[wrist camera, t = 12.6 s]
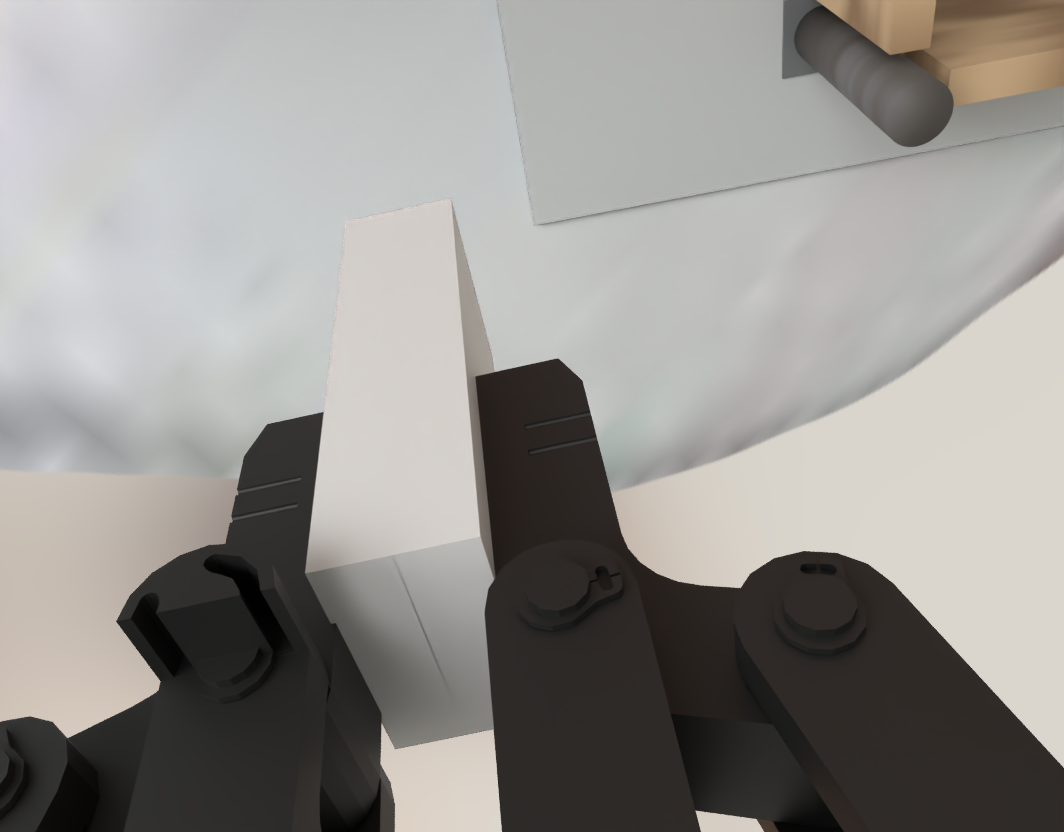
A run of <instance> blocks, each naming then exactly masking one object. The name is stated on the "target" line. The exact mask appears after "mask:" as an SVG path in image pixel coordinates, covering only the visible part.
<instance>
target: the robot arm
mask: <svg viewBox="0 0 1064 832" xmlns="http://www.w3.org/2000/svg"><path fill="white" fill-rule="evenodd" d="M237 490H238V495H236V497H235V502H234V506H233V511H232V520H233V522H232V523H230V525H229V530H228V535H227V539H226V544H221V545H220V544H219V545H208V546H206V547H203V548H200V549H197V550H194V551H191V552H188V553H186V554H183V555H180V556H178V557H177V558H175V559H173V560H172V561H171V562H169V563H167V564H166V565H164V566H163V567H161V568H159V569H158V570H156V571H155V572H153V573H152V574H151V575H150V576H149V577H148V578H147V579H146V580H145V581H144V582H143V583H142V584H141V585H140V586H139V587H138V588H137V589H136V590H135V591H134V592H133V593H132V594H131V595H130V596H129V599H128V600H127V602H126V604H125V606H124V608H123V609H122V612H121V613H120V615H119V617H118V619H117V621H116V622H117V623H118V624H119V626H120V627H121V628H122V630H123V631H124V633H125V634H126V635H127V637H128V638H129V639H130V641H131V642H132V643H133V645H134V646H135V647H136V649H137V650H138V651H139V653H140V654H141V655H142V657H143V658H144V659H145V661H146V662H147V664H148V665H149V666H150V668H151V669H152V670H153V672H154V673H155V674H156V676H157V677H158V678H159V680H160V681H161V682H160V686H159V691H157V692H156V693H155V694H153V695H151V696H150V697H149V698H146V699H145V700H143V701H142V702H140V703H138V704H136V705H134V706H133V707H131V708H129V709H127V710H125V711H123V712H121V713H119V714H117V715H115V716H112V717H110V718H108V719H106V720H104V721H102V722H100V723H98V724H96V725H94V726H92V727H90V728H88V729H86V730H84V731H82V732H80V733H78V734H76V735H74V736H72V737H69V738H67V737H66V736H65V735H64V734H63V733H62V732H61V731H60V730H59V729H58V728H57V726H56V725H55V724H54V723H53V722H50V721H46V720H42V719H38V718H34V717H24V718H18V719H13V720H7V721H2V722H0V832H394V831H395V803H394V798H393V793H392V788H391V783H390V781H389V779H388V777H387V776H386V774H385V772H384V770H383V768H382V766H381V764H380V757H381V755H380V754H381V722H382V724H383V726H384V728H385V730H386V732H387V734H388V736H389V738H390V740H391V742H392V744H393V746H394V748H395V749H398V748H404V747H408V746H414V745H418V744H423V743H428V742H433V741H438V740H443V739H448V738H453V737H457V736H463V735H467V734H472V733H477V732H482V731H487V730H492V729H494V738H495V750H496V763H497V775H498V788H499V800H500V812H501V824H502V832H701V831H700V827H699V823H698V819H697V815H696V811H704V812H710V813H718V814H725V815H733V816H740V817H746V818H754V819H757V820H758V822H759V824H760V825H761V827H762V829H763V831H764V832H1064V768H1063V767H1062V765H1061V764H1060V763H1059V762H1057V760H1056V759H1055V758H1054V757H1053V756H1052V755H1051V754H1050V753H1049V752H1048V750H1047V749H1046V748H1045V747H1044V746H1043V745H1042V744H1041V743H1040V742H1039V741H1038V740H1037V738H1036V737H1035V736H1034V735H1033V734H1032V733H1031V732H1030V731H1029V730H1028V729H1027V728H1026V727H1025V725H1023V723H1022V722H1021V721H1020V720H1019V719H1018V718H1017V717H1016V716H1015V715H1014V714H1013V713H1012V712H1011V710H1010V709H1009V708H1008V707H1007V706H1006V705H1005V704H1004V703H1003V702H1002V701H1001V700H1000V698H999V697H998V696H997V695H996V694H995V693H994V692H993V691H992V690H991V689H990V688H989V687H988V685H987V684H986V683H985V682H984V681H983V680H982V679H981V678H980V677H979V676H978V675H977V674H976V672H975V671H974V670H973V669H972V668H971V667H970V666H969V665H968V664H967V663H966V662H965V661H964V660H963V658H962V657H961V656H960V655H959V654H958V653H957V652H956V651H955V650H954V649H953V648H952V647H951V645H950V644H949V643H948V642H947V641H946V640H945V639H944V638H943V637H942V636H941V635H940V634H939V633H938V631H937V630H936V629H935V628H934V627H933V626H932V625H931V624H930V623H929V622H928V621H927V619H926V618H925V617H924V616H923V615H922V614H921V613H920V612H919V611H918V610H917V609H916V608H915V607H914V606H913V604H912V603H911V602H910V601H909V600H908V599H907V598H906V597H905V596H904V595H903V594H902V592H901V591H899V589H898V588H897V587H896V586H895V585H894V584H893V583H892V582H891V581H889V580H888V579H887V578H885V577H884V576H883V575H882V574H880V573H879V572H878V571H876V570H875V569H874V568H872V567H871V566H870V565H868V564H866V563H864V562H861V561H858V560H855V559H852V558H849V557H847V556H843V555H840V554H838V553H827V552H826V553H825V552H809V551H808V552H807V551H803V552H799V553H795V554H790V555H786V556H783V557H778V558H774V559H772V560H771V561H770V562H768V563H766V564H765V565H763V566H762V567H760V568H759V569H757V570H756V571H754V572H752V573H751V574H750V575H749V577H748V578H747V580H746V581H745V583H744V584H743V586H742V587H741V588H730V587H713V586H700V585H695V584H688V583H682V582H677V581H674V580H671V579H669V578H667V577H664V576H661V575H659V574H656V573H655V572H654V571H652V570H651V569H649V568H647V567H646V566H644V565H643V564H642V563H640V562H639V561H638V560H637V558H636V557H635V556H634V555H633V554H632V553H631V552H630V550H629V549H628V547H627V545H626V543H625V541H624V538H623V536H622V534H621V530H620V527H619V523H618V519H617V515H616V511H615V507H614V503H613V499H612V495H611V491H610V487H609V483H608V479H607V476H606V472H605V468H604V464H603V460H602V456H601V452H600V448H599V444H598V441H597V437H596V433H595V429H594V425H593V421H592V417H591V414H590V409H589V405H588V401H587V397H586V393H585V389H584V386H583V382H582V380H581V379H580V378H579V377H578V376H577V375H576V374H575V373H573V372H572V371H571V370H570V369H569V368H568V367H567V366H566V365H565V364H564V363H563V362H562V361H560V360H559V359H553V360H549V361H544V362H539V363H535V364H530V365H526V366H521V367H516V368H512V369H507V370H502V371H498V372H494V366H493V358H492V353H491V349H490V345H489V342H488V338H487V334H486V330H485V326H484V323H483V319H482V315H481V311H480V307H479V303H478V300H477V296H476V292H475V288H474V284H473V281H472V277H471V273H470V269H469V265H468V261H467V258H466V254H465V250H464V246H463V242H462V239H461V235H460V231H459V227H458V223H457V220H456V216H455V212H454V208H453V204H452V200H451V198H448V199H444V200H439V201H435V202H430V203H426V204H421V205H417V206H412V207H408V208H403V209H399V210H394V211H390V212H385V213H381V214H376V215H372V216H367V217H363V218H358V219H354V220H349V221H346V226H345V234H344V243H343V252H342V260H341V269H340V277H339V286H338V294H337V303H336V312H335V320H334V329H333V337H332V346H331V355H330V363H329V372H328V380H327V389H326V398H325V406H324V412H322V413H317V414H313V415H308V416H303V417H299V418H294V419H290V420H285V421H280V422H276V423H271V424H267V425H266V427H265V428H264V430H263V431H262V432H261V434H260V435H259V436H258V438H257V439H256V441H255V442H254V443H253V445H252V446H251V448H250V449H249V450H248V452H247V453H246V455H245V456H244V460H243V464H242V469H241V474H240V478H239V483H238V488H237ZM695 810H696V811H695Z"/></svg>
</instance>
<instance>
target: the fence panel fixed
mask: <svg viewBox="0 0 1064 832" xmlns="http://www.w3.org/2000/svg"><path fill="white" fill-rule="evenodd" d="M794 43H795V48H796V50H797V52H798V54H799V55H800V56H801V57H802V58H803V59H804V60H805V61H806V62H808V63H809V64H810V65H811V66H812V67H813V68H814V69H815V70H816V71H817V72H819V73H820V74H821V75H822V76H823V77H824V78H825V79H826V80H827V81H828V82H829V83H831V84H832V85H833V86H834V87H835V88H836V89H837V90H838V91H839V92H840V93H841V94H843V95H844V96H845V97H846V98H847V99H848V100H849V101H850V102H851V103H852V104H853V105H855V106H856V107H857V108H858V109H859V110H860V111H861V112H862V113H863V114H864V115H866V116H867V117H868V118H869V119H870V120H871V121H872V122H873V123H874V124H875V125H876V126H878V127H879V128H880V129H881V130H882V131H883V132H884V133H885V134H886V135H887V136H888V137H890V138H891V139H892V140H893V141H894V142H895V143H897V144H899V145H901V146H904V147H916V146H920V145H923V144H926V143H928V142H930V141H931V140H933V139H934V138H935V137H937V136H938V135H939V134H940V133H941V132H942V131H943V130H944V128H945V127H946V126H947V124H948V122H949V120H950V118H951V116H952V113H953V107H954V106H960V105H965V104H970V103H976V102H981V101H986V100H991V99H997V98H1002V97H1007V96H1013V95H1018V94H1023V93H1029V92H1034V91H1039V90H1044V89H1050V88H1055V87H1060V86H1064V0H936V6H935V14H934V22H933V29H932V37H931V45H930V48H927V49H921V50H915V51H910V52H904V53H898V54H893V55H889V54H888V53H887V52H885V51H884V50H883V49H881V48H880V47H879V46H877V45H876V44H874V43H873V42H872V41H870V40H869V39H868V38H866V37H865V36H864V35H862V34H861V33H860V32H858V31H857V30H856V29H854V28H853V27H852V26H850V25H849V24H848V23H846V22H845V21H844V20H842V19H841V18H840V17H838V16H837V15H835V14H834V13H833V12H831V11H830V10H829V9H827V8H826V7H825V6H823V5H821V6H818V7H815V8H814V9H812V10H810V11H809V12H808V13H807V14H805V16H804V17H803V18H802V19H801V20H800V22H799V24H798V26H797V28H796V31H795V36H794Z"/></svg>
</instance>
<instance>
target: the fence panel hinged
mask: <svg viewBox="0 0 1064 832" xmlns="http://www.w3.org/2000/svg"><path fill="white" fill-rule="evenodd" d="M817 1H818V2H819V3H821V4H822V5H823V6H825V7H826V8H827V9H829V10H830V11H831V12H833V13H834V14H835V15H837V16H838V17H840V18H841V19H842V20H844V21H845V22H846V23H848V24H849V25H850V26H852V27H853V28H854V29H856V30H857V31H858V32H860V33H861V34H862V35H864V36H865V37H866V38H868V39H869V40H870V41H872V42H873V43H874V44H876V45H877V46H879V47H880V48H881V49H883V50H884V51H885V52H887V53H888V54H889V55H893V54H898V53H904V52H910V51H915V50H921V49H927V48H930V45H931V37H932V29H933V22H934V14H935V6H936V0H817Z"/></svg>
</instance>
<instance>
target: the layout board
mask: <svg viewBox="0 0 1064 832" xmlns="http://www.w3.org/2000/svg"><path fill="white" fill-rule="evenodd" d="M497 5H498V11H499V17H500V23H501V29H502V35H503V41H504V47H505V53H506V59H507V65H508V71H509V77H510V83H511V90H512V96H513V102H514V108H515V114H516V120H517V126H518V132H519V138H520V144H521V150H522V156H523V162H524V168H525V174H526V181H527V187H528V193H529V199H530V205H531V211H532V217H533V223H534V225H539V224H544V223H549V222H555V221H560V220H565V219H571V218H576V217H581V216H587V215H592V214H597V213H603V212H608V211H613V210H619V209H624V208H629V207H634V206H640V205H645V204H650V203H656V202H661V201H666V200H672V199H677V198H682V197H688V196H693V195H698V194H704V193H709V192H714V191H719V190H725V189H730V188H735V187H741V186H746V185H751V184H757V183H762V182H767V181H773V180H778V179H783V178H789V177H794V176H799V175H805V174H810V173H815V172H820V171H826V170H831V169H836V168H842V167H847V166H852V165H858V164H863V163H868V162H874V161H879V160H884V159H890V158H895V157H900V156H905V155H911V154H916V153H921V152H927V151H932V150H937V149H943V148H948V147H953V146H959V145H964V144H969V143H975V142H980V141H985V140H991V139H996V138H1001V137H1006V136H1012V135H1017V134H1022V133H1028V132H1033V131H1038V130H1044V129H1049V128H1054V127H1060V126H1064V86H1060V87H1055V88H1050V89H1044V90H1039V91H1034V92H1029V93H1023V94H1018V95H1013V96H1007V97H1002V98H997V99H991V100H986V101H981V102H976V103H970V104H965V105H960V106H954V107H953V113H952V116H951V118H950V120H949V122H948V124H947V126H946V127H945V128H944V130H943V131H942V132H941V133H940V134H939V135H938V136H937V137H935V138H934V139H933V140H931V141H930V142H928V143H926V144H923V145H920V146H916V147H904V146H901V145H899V144H897V143H895V142H894V141H893V140H892V139H891V138H890V137H888V136H887V135H886V134H885V133H884V132H883V131H882V130H881V129H880V128H879V127H878V126H876V125H875V124H874V123H873V122H872V121H871V120H870V119H869V118H868V117H867V116H866V115H864V114H863V113H862V112H861V111H860V110H859V109H858V108H857V107H856V106H855V105H853V104H852V103H851V102H850V101H849V100H848V99H847V98H846V97H845V96H844V95H843V94H841V93H840V92H839V91H838V90H837V89H836V88H835V87H834V86H833V85H832V84H831V83H829V82H828V81H827V80H826V79H825V78H824V77H823V76H822V75H821V74H820V73H819V72H817V71H816V70H815V69H814V68H813V67H812V66H811V65H810V64H809V63H808V62H806V61H805V60H804V59H803V58H802V57H801V56H800V55H799V54H798V52H797V50H796V48H795V43H794V36H795V31H796V28H797V26H798V24H799V22H800V20H801V19H802V18H803V17H804V16H805V14H807V13H808V12H809V11H810V10H812V9H814V8H815V7H818V6H821V5H822V4H821V3H819V2H818V1H817V0H497Z"/></svg>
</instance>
